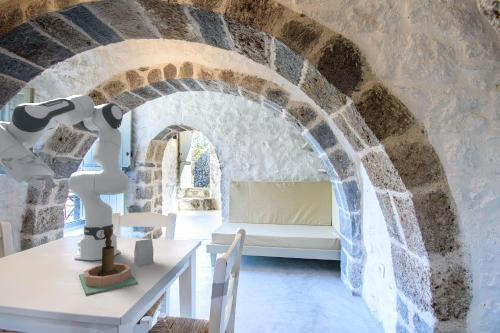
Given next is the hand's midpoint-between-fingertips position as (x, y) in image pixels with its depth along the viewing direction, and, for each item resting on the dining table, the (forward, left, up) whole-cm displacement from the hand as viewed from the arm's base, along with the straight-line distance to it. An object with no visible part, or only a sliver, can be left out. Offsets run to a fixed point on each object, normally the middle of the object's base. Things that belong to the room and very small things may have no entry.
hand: (49, 188), depth 99 cm
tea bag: (-4, +33, -34) cm, 48 cm away
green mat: (+7, +17, -33) cm, 38 cm away
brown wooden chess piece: (+7, +18, -33) cm, 38 cm away
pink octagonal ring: (+7, +17, -33) cm, 38 cm away
